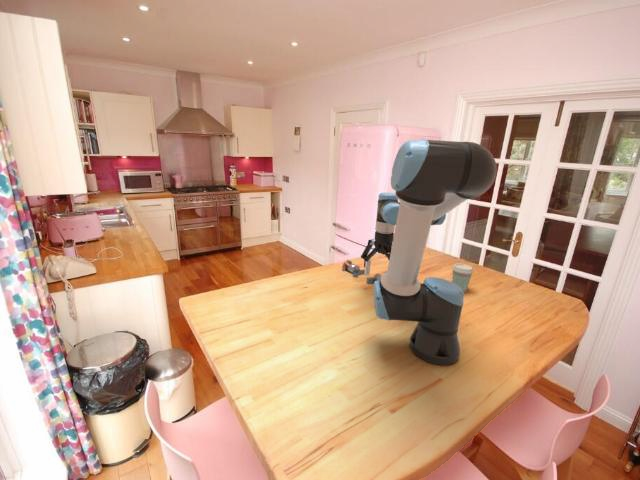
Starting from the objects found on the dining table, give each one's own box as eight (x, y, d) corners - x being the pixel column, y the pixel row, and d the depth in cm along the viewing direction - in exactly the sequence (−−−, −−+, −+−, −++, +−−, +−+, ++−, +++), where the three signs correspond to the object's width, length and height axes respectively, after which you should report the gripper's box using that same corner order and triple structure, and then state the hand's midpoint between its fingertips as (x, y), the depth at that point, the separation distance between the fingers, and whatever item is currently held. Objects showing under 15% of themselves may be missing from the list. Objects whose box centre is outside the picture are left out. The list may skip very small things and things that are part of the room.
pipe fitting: (382, 291, 132) (383, 278, 130) (340, 273, 150) (341, 261, 149) (393, 286, 138) (395, 274, 136) (351, 270, 156) (352, 258, 154)
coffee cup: (464, 287, 140) (469, 263, 137) (472, 296, 132) (477, 270, 129) (446, 286, 141) (450, 262, 138) (452, 294, 133) (456, 269, 129)
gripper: (417, 237, 114) (410, 287, 120) (366, 224, 132) (362, 269, 138) (406, 240, 109) (399, 292, 115) (355, 226, 127) (351, 272, 133)
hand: (379, 280), depth 126 cm, fingers open, 13 cm apart
